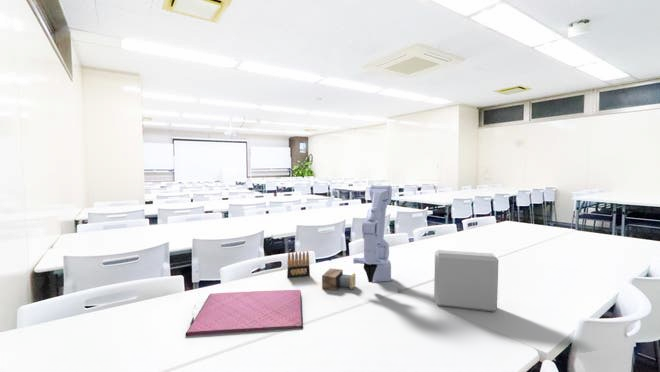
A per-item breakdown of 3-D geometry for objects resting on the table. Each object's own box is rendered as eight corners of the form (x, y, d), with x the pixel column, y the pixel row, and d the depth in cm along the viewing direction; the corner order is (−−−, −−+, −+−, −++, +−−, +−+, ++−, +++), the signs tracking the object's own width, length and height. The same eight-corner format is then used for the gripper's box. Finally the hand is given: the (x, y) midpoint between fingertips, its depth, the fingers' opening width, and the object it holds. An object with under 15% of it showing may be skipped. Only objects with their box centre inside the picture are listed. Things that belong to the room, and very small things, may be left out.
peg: (355, 285, 132) (355, 273, 132) (352, 289, 128) (352, 277, 127) (338, 282, 135) (338, 271, 135) (335, 286, 130) (335, 275, 130)
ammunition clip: (287, 278, 143) (287, 253, 142) (287, 276, 144) (286, 251, 144) (309, 276, 145) (309, 251, 144) (309, 274, 147) (309, 250, 146)
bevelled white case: (492, 304, 114) (493, 251, 113) (498, 313, 107) (499, 258, 106) (433, 297, 120) (434, 248, 119) (435, 306, 112) (435, 253, 111)
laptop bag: (300, 285, 124) (302, 320, 97) (300, 295, 125) (302, 332, 98) (199, 289, 119) (172, 327, 93) (199, 299, 120) (172, 339, 93)
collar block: (343, 282, 137) (343, 269, 136) (336, 290, 127) (336, 277, 127) (330, 280, 139) (330, 268, 139) (322, 288, 130) (322, 275, 129)
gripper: (351, 250, 125) (351, 282, 126) (386, 253, 120) (386, 287, 121) (355, 246, 132) (355, 277, 133) (389, 249, 127) (389, 281, 128)
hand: (370, 281), depth 127 cm, fingers closed
